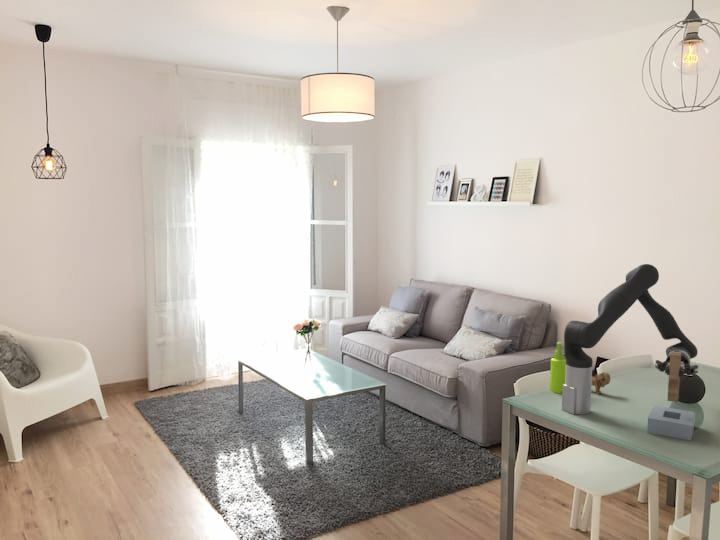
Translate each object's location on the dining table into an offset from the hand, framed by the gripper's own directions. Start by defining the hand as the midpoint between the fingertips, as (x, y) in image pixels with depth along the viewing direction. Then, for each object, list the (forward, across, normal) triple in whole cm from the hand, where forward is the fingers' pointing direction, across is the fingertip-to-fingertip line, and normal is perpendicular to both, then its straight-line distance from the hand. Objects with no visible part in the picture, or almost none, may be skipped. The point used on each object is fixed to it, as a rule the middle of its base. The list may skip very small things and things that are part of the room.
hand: (674, 372), depth 202 cm
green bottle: (-24, -43, +20) cm, 54 cm away
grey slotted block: (-1, 0, +20) cm, 20 cm away
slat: (-3, 0, +10) cm, 10 cm away
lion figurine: (-31, -31, +20) cm, 48 cm away
